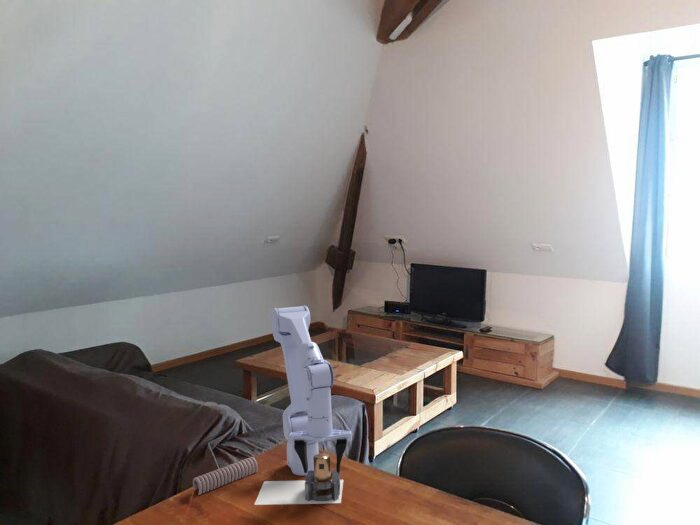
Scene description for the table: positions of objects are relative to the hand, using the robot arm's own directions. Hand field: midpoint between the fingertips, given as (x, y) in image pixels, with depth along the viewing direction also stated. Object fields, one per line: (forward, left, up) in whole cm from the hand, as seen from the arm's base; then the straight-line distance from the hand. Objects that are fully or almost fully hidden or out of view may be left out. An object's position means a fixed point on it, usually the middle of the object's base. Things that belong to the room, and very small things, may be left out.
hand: (322, 470), depth 134 cm
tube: (0, 0, -5) cm, 5 cm away
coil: (-20, -18, -7) cm, 28 cm away
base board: (-4, -4, -6) cm, 8 cm away
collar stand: (0, 0, -6) cm, 6 cm away
